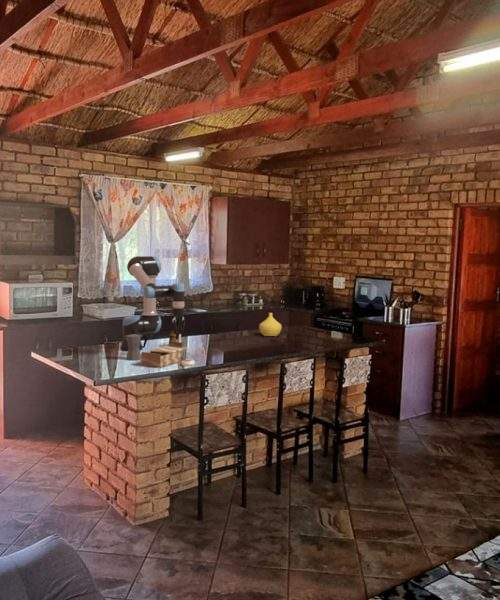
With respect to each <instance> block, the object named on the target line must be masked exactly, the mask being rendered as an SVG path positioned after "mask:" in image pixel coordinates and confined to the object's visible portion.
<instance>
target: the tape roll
mask: <svg viewBox="0 0 500 600" xmlns="http://www.w3.org/2000/svg"><path fill="white" fill-rule="evenodd" d="M180 363H181V366H182V367H193V366H195V365H196V364H195V363H196V362H195V360H194V359H183V360H180Z"/></svg>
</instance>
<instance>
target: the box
mask: <svg viewBox="0 0 500 600" xmlns="http://www.w3.org/2000/svg"><path fill="white" fill-rule="evenodd" d="M140 355H141V359H140V366H142V365H146V366H145V367H150V366H153V367H152V368H157V367H160V368H159V369H163V368H166V367H169V365H170V366H172V365H175V364H179V363H181V351H177V352H173V353H161V352H153V351H150V350H149V351H141V353H140ZM165 366H166V367H165ZM162 367H163V368H162Z"/></svg>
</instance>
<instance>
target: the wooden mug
mask: <svg viewBox="0 0 500 600" xmlns="http://www.w3.org/2000/svg"><path fill="white" fill-rule="evenodd" d="M185 326H186V323H185V322H184V327H185ZM182 335H183V334H181V336H182ZM168 337H169V339H168V345H170V342H176V334H174V333H173V330H172V331H170V332H169V335H168ZM168 345H167V346H168Z"/></svg>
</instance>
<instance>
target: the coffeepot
mask: <svg viewBox="0 0 500 600" xmlns="http://www.w3.org/2000/svg"><path fill="white" fill-rule="evenodd" d="M124 338H125V339H126V341H127V343H128V346H129V349H128V351H127V353H126V360H127V361H132V360H134V361H139V360H140V361H141V350H140V349H139V346H140V341H141V339H144V342H143V343H142V346H141V347H142V348H144V349H145V348H146V346H147V345H146V344H147V342H148V339H149V338H148V336H147V335H146V334H140V335H137V334H135V331H133V334H131V335H126V336H124ZM141 342H142V341H141Z"/></svg>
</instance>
